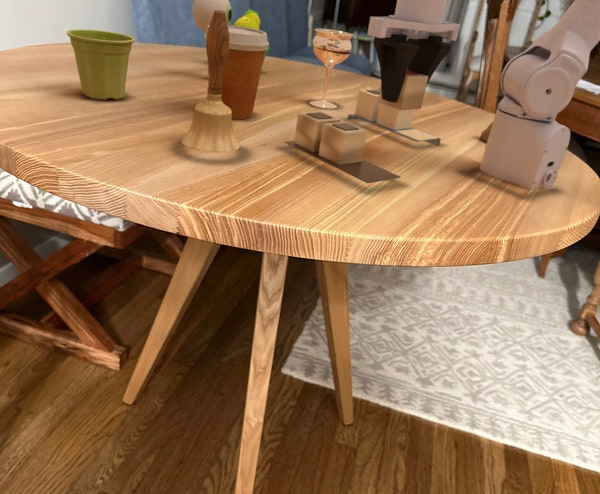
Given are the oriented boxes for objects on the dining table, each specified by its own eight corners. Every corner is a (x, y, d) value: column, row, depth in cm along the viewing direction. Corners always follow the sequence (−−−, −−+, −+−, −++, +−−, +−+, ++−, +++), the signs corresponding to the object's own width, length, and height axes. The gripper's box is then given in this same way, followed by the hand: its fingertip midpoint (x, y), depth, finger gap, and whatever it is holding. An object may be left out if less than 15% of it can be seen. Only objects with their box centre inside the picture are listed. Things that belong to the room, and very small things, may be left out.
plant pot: (87, 85, 92) (83, 26, 87) (144, 94, 91) (143, 36, 87) (59, 96, 84) (54, 33, 79) (122, 107, 83) (120, 43, 79)
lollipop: (221, 84, 105) (226, -6, 97) (184, 78, 106) (186, -13, 98) (232, 78, 111) (238, -8, 103) (198, 72, 112) (200, -14, 104)
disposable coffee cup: (273, 121, 88) (281, 37, 81) (216, 122, 83) (221, 33, 76) (244, 105, 94) (250, 26, 88) (191, 105, 89) (193, 22, 83)
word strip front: (400, 184, 70) (409, 143, 67) (365, 191, 66) (374, 148, 64) (316, 145, 80) (321, 108, 77) (282, 148, 76) (287, 110, 73)
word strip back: (439, 144, 89) (448, 111, 86) (414, 148, 85) (423, 113, 82) (372, 118, 98) (378, 87, 95) (347, 120, 94) (352, 88, 92)
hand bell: (248, 146, 75) (259, 13, 67) (237, 166, 68) (248, 19, 60) (186, 137, 75) (190, 2, 67) (169, 155, 68) (170, 7, 60)
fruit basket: (205, 63, 122) (208, 4, 116) (235, 61, 128) (239, 6, 122) (243, 75, 116) (248, 13, 110) (272, 72, 122) (278, 15, 116)
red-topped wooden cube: (421, 108, 73) (428, 75, 70) (400, 110, 70) (408, 75, 68) (398, 100, 75) (404, 68, 73) (377, 102, 73) (384, 68, 71)
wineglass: (303, 98, 105) (313, 27, 98) (339, 102, 105) (351, 32, 99) (305, 106, 99) (315, 31, 93) (343, 111, 100) (356, 37, 93)
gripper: (438, -21, 72) (413, 90, 79) (358, -32, 63) (338, 94, 70) (484, -13, 68) (454, 103, 75) (405, -24, 59) (379, 108, 66)
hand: (400, 99), depth 72 cm, fingers closed on red-topped wooden cube, 4 cm apart
